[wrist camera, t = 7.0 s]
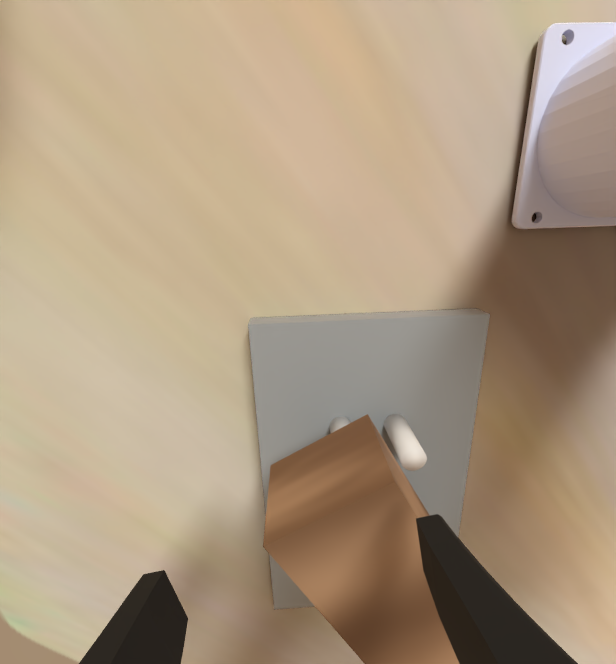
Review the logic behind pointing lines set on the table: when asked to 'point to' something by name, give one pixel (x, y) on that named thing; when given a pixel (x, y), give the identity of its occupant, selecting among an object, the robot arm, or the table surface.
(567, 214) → the robot arm
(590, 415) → the table surface
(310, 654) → the table surface
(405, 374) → the peg plate
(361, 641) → the copper brown rectangular block
